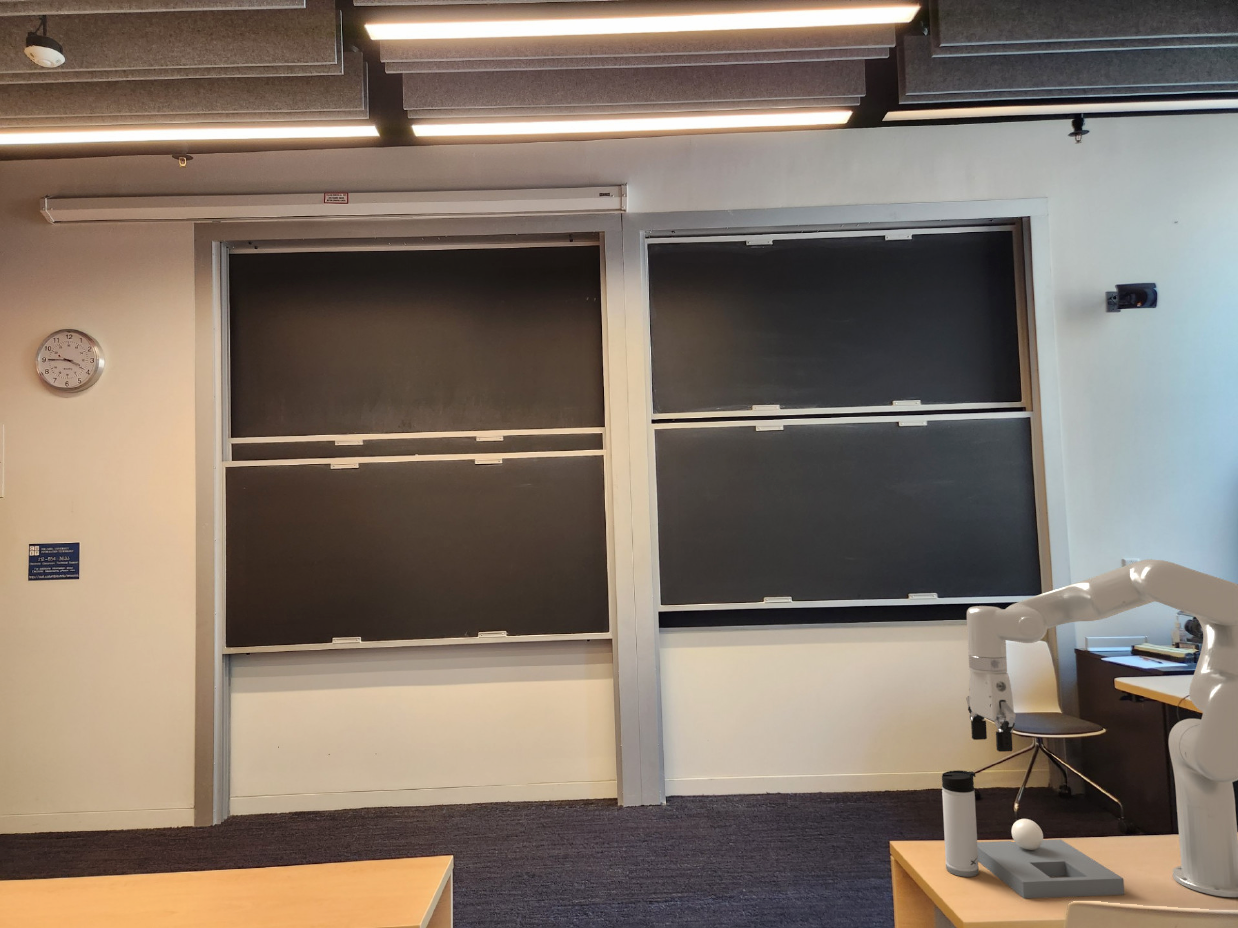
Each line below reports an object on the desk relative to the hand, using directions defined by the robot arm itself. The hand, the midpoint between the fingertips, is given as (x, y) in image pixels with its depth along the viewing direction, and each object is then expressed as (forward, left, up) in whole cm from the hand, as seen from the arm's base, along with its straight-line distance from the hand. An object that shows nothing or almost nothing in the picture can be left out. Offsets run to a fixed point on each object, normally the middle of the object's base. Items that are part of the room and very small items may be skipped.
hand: (991, 744), depth 171 cm
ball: (-6, +1, -18) cm, 19 cm away
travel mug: (+9, +3, -25) cm, 27 cm away
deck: (-6, +6, -24) cm, 26 cm away
